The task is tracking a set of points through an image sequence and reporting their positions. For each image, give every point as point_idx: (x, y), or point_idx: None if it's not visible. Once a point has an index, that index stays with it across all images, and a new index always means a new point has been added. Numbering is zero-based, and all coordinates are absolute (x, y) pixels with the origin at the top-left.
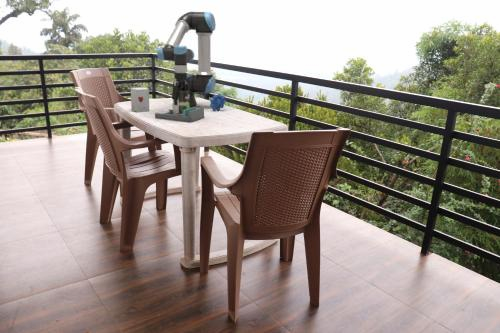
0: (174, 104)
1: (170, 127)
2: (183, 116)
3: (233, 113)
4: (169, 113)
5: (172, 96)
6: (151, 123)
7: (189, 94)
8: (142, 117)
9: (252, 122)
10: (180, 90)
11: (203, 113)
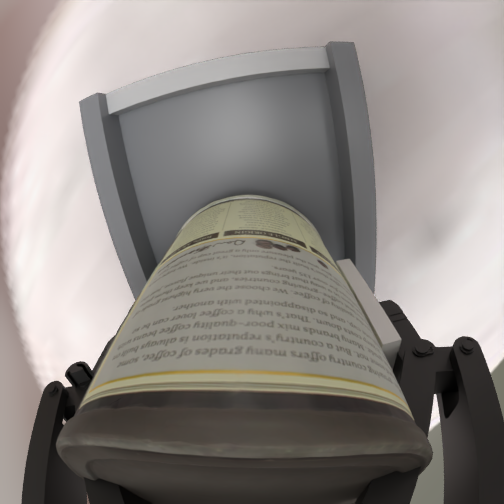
0: (111, 341)
1: (54, 347)
2: None
3: (495, 340)
4: (300, 72)
5: (45, 408)
6: (16, 230)
7: (451, 393)
8: (76, 31)
9: None
10: (315, 490)
11: None
